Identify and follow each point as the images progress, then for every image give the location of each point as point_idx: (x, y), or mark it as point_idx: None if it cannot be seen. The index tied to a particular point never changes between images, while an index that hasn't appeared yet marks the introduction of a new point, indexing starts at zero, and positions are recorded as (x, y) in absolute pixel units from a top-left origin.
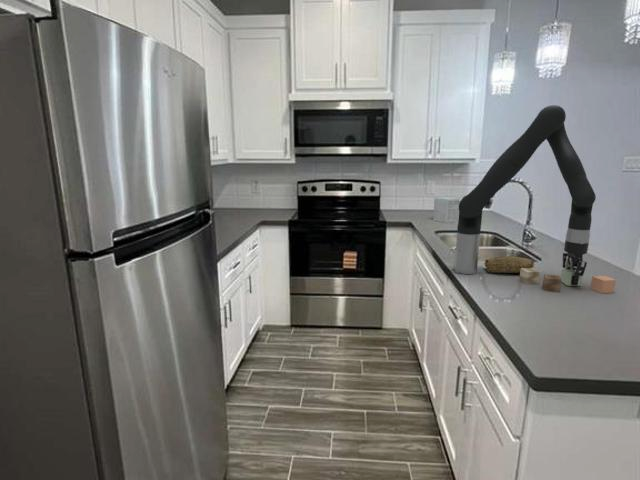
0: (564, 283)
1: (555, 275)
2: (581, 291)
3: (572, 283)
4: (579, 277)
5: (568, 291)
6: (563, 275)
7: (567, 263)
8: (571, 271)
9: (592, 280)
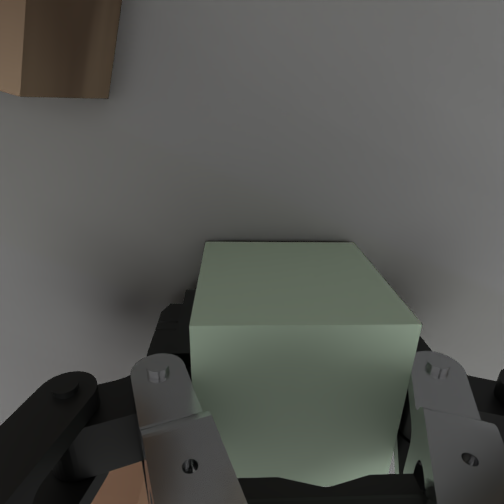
0: (260, 243)
1: (15, 12)
2: (54, 309)
3: (185, 301)
4: None
5: (7, 178)
6: (329, 280)
7: (429, 475)
8: (289, 400)
9: (132, 491)
